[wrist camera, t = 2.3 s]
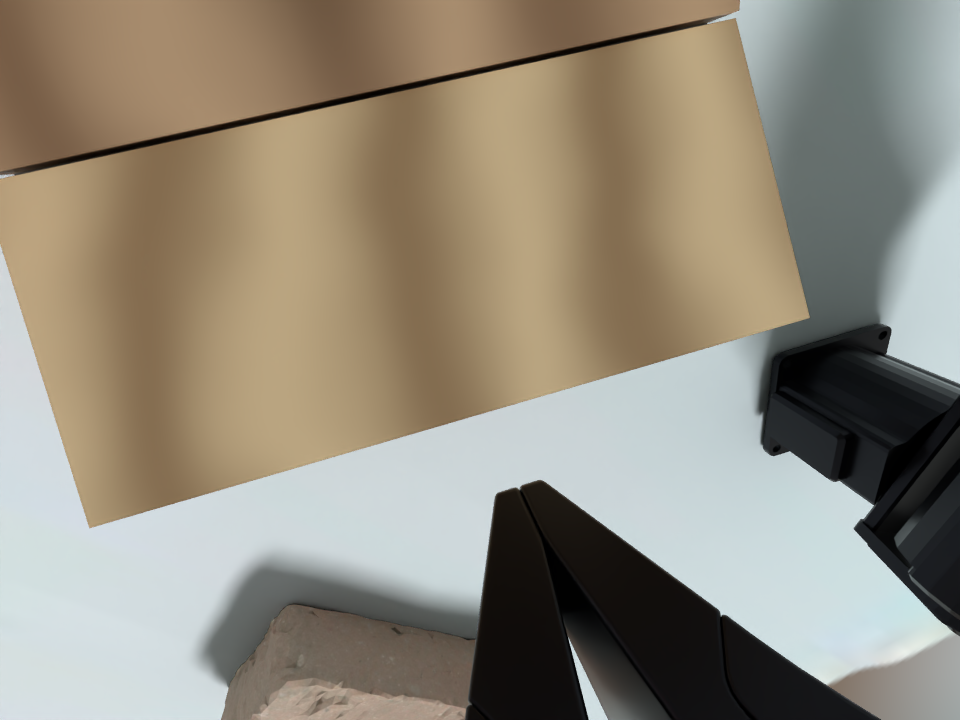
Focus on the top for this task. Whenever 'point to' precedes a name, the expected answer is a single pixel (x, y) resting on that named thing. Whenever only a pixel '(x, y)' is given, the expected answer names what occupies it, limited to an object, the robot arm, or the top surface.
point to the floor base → (267, 60)
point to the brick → (351, 671)
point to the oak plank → (395, 263)
